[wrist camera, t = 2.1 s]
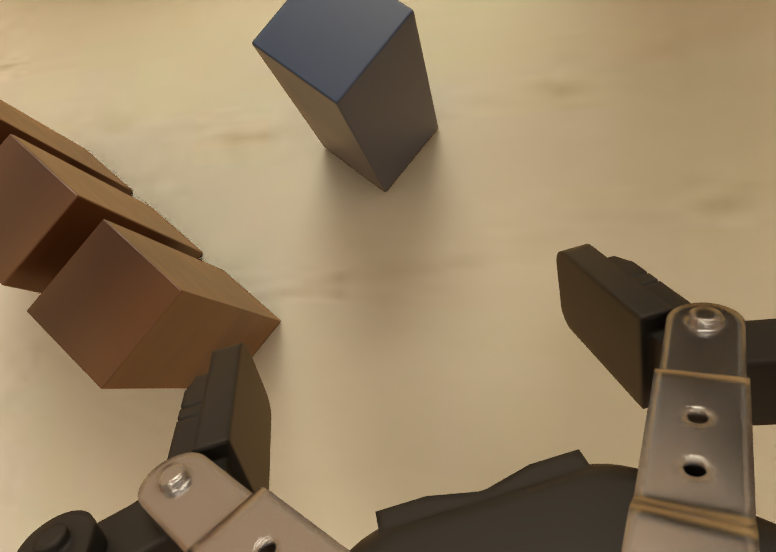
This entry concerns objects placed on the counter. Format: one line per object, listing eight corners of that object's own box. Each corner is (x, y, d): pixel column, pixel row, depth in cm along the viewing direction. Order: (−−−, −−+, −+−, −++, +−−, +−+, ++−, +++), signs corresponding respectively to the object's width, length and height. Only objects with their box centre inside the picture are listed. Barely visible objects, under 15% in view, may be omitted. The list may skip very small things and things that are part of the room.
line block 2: (203, 252, 32) (78, 195, 22) (151, 316, 32) (1, 285, 22) (150, 206, 33) (9, 132, 23) (100, 267, 33) (-63, 218, 23)
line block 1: (133, 191, 33) (-13, 111, 24) (83, 251, 33) (-84, 196, 24) (85, 148, 35) (-73, 57, 25) (36, 206, 34) (-141, 137, 25)
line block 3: (281, 320, 30) (182, 290, 21) (226, 388, 30) (101, 389, 20) (223, 269, 31) (103, 218, 22) (169, 334, 31) (25, 311, 22)
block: (438, 128, 31) (414, 9, 21) (385, 192, 31) (336, 104, 21) (375, 84, 32) (324, -47, 22) (324, 146, 32) (250, 42, 22)
